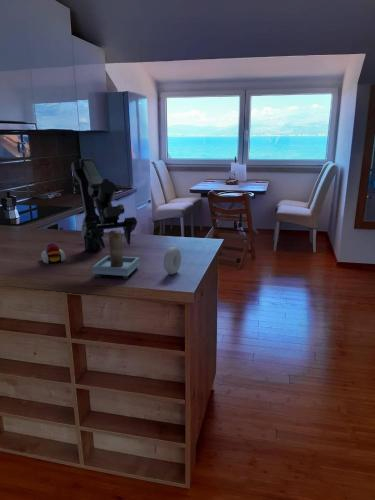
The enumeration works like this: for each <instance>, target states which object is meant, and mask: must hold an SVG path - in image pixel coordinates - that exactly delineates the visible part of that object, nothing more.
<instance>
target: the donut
mask: <svg viewBox="0 0 375 500" xmlns="http://www.w3.org/2000/svg"><path fill="white" fill-rule="evenodd" d="M181 263H182V254H181V251H180V249H179V248H178V247H177V246H170V247H169V248H168V249H167V250H166V251H165V254H164V256H163V268H164V271H165V272H166V274H169V275H174V274H176V273H177V272H178V271H179V270H180V267H181Z"/></svg>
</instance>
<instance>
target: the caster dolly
mask: <svg viewBox="0 0 375 500" xmlns="http://www.w3.org/2000/svg"><path fill="white" fill-rule="evenodd" d="M140 265H141V258H140V257H138V256H137V257H135V256H123V266H122V267H111V260H110V255H105V257H103V258H102V259H101V260H99V261H98V262H96V263H95V264H94V265H92V267H91V268H92V269H91V270H92V275H93V274H95V276H96V278H97V279H98V278H101V277H102V275H109V276H122V279H123V280H129V275H130V274H132V273H133V272H134V271H137V270H138V267H139V266H140Z"/></svg>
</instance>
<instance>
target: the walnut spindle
mask: <svg viewBox="0 0 375 500" xmlns="http://www.w3.org/2000/svg"><path fill="white" fill-rule="evenodd" d="M108 243H109V256H110V260H111V267H122V266H123V257H124V255H123V253H124V252H123V238H122V230H110V231H108Z"/></svg>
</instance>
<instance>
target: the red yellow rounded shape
mask: <svg viewBox="0 0 375 500" xmlns="http://www.w3.org/2000/svg"><path fill="white" fill-rule="evenodd" d="M45 247H46V248H45V250H43V251H42V252H41V254H40V256H41V260H43V263H45V264H49V262H54V263H56V262H58V261H60V262H61V263H62V262H64V261H65V260H66V257H67V256H66V254H65V252H64V250H63V249H60V247H59V246H58V244H57V243H55V242H50V243H48V244H47V245H46V246H45Z"/></svg>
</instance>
